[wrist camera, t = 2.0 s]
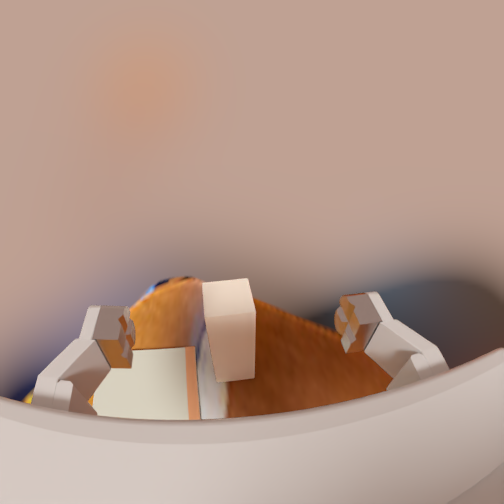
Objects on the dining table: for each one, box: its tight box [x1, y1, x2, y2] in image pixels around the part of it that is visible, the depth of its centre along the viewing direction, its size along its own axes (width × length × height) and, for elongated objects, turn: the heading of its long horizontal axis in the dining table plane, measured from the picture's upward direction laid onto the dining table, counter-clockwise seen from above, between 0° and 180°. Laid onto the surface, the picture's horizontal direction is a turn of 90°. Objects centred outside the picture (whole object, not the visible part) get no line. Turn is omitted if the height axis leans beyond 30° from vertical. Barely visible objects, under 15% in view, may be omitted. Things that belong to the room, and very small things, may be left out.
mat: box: [93, 346, 201, 420], centre depth 28 cm, size 13×18×1 cm
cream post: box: [202, 278, 256, 383], centre depth 31 cm, size 4×4×12 cm
